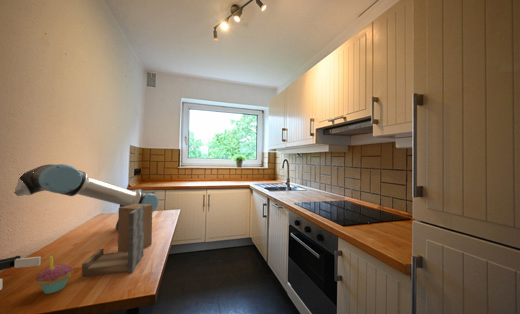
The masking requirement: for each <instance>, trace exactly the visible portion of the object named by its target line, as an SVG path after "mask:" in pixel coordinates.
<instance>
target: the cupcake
mask: <svg viewBox="0 0 520 314" xmlns="http://www.w3.org/2000/svg"><path fill="white" fill-rule="evenodd" d="M53 258H54V257H53V255H52V254H51V253H50V254H49V267H47V268H45V269H43V270H42V271H40V272H39V273H38V274H37V275H36V277H35V285H36V286H40V288H41V290H42V292H43V294H47V295H48V294H49V295H50V294H53V293H56V292H59V291H61V290H63V289H64V288H65V286H66V284H67V281H68V279H69V278H70V276H71V275H73V271H74V270H73V267H72V266H71V265H68V264H65V263H63V264H60V263H59V264H55V265H54V259H53Z"/></svg>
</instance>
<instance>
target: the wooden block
mask: <svg viewBox="0 0 520 314" xmlns="http://www.w3.org/2000/svg"><path fill="white" fill-rule="evenodd" d="M140 205H144V245H143V250H144V249H147V247H149V246H152V244H153V243H152V242H153V241H152V240H153V239H152V238H153V237H152V234H153V212H152V204H132V205H128V206H124V207H120V206H119V208H118V219H117V221H118V230H117V231H118V232H117V251H118V252H126V251H128V230H129V213H130V212H132V211H133V210H135V209H136V208H138V207H139V206H140Z"/></svg>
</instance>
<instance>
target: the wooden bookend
mask: <svg viewBox="0 0 520 314" xmlns="http://www.w3.org/2000/svg"><path fill="white" fill-rule="evenodd" d="M143 245H144V205H140V206H139V207H138V208H136V209H135V210H133V211H132V212H130V213H129V230H128V251H126V252H122V251H118V252H117V251H116V252H109V253H104V252H105V251H104V248H100V249H99V248H98V250H97V251H95V252H94V253H93V254H92V255H91V256H90V257H88V258H87V259H85V261H84V262H82V263H81V264H82V265H81V278H82V279H84V278H86V279H87V278H92V277H93V278H94V277H99V276H109V275H117V274H124V273H125V274H126V273H127V274H132V273H133V272H134V271H135V270H136V268H137V266H138V264H139V263H140V262H141V260H142V259H143V257H144V249H143Z"/></svg>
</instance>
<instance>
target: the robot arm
mask: <svg viewBox="0 0 520 314" xmlns="http://www.w3.org/2000/svg"><path fill="white" fill-rule="evenodd" d="M25 172H26V173H25ZM25 172H23V173H24V174H23V175H22V176H21V177H20V178H19V179H18V183H17V186H16V188H15V192H14V193H15V194H16V195H17V196H21V197H23V196H28V197H29V196H31V195H34V194H36V193H39V192H40V193H41V192H44V191H45V192H50V193H53V194H60V195H63V196H68V197H74V196H76V195H79V196H82V197H88V198H92V199H95V200H100V201H102V202H103V201H104V202H109V203H112V204H116V205H119V208H120V207H124V206H128V205H132V204H152V213H154V212H155V211H156V209H157V208H158V206H159V197H158V196H157V195H156V194H155V193H149V192H146V191H143V190H142V189H140V188H139V189H132V190H130V189H127V188H124V187H121V186H118V185H115V184H111V183H109V182H105V181H102V180H99V179H96V178H93V177H89V176H88V174H87V172H85V171H82V170H79V169H77V168H76V167H74V166H72V165H68V164H65V163H64V164H44V165H39V166H37V167H35V168H33V169H30V170H27V171H25ZM33 172H34V173H33ZM22 181H23V182H22ZM115 230H116V231H118V220H117V222H116V224H115ZM41 263H42V257H41V256H33V257H31V256H30V257H23V258H22V257H21V255H15V256H12V257H7V258H2V259H0V271H5V270H7V269H12V268H14V269H18V268H20V269H21V268H27V267H36V266H38V267H39V266H41V265H42V264H41ZM2 289H3V278H0V291H1V290H2Z"/></svg>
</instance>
